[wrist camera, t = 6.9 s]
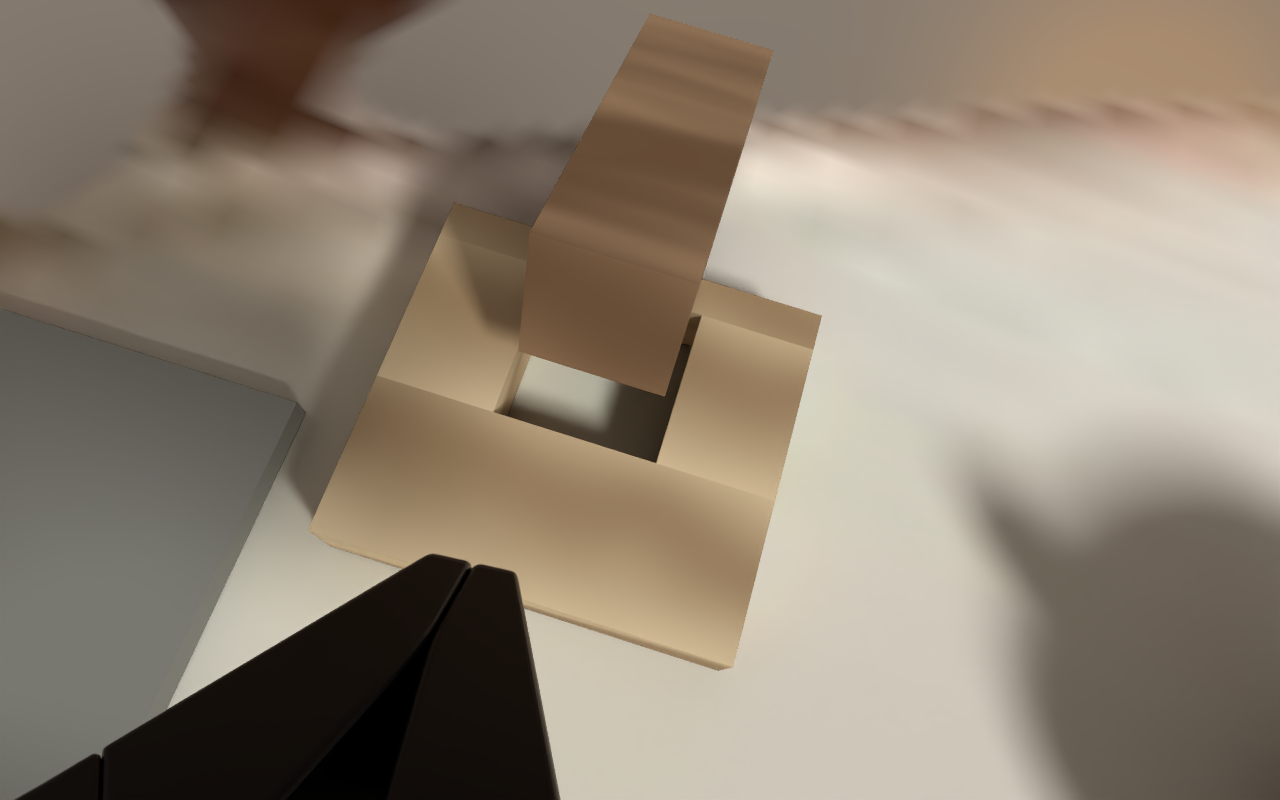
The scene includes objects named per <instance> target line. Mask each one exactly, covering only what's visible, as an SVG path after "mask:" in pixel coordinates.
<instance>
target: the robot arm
mask: <svg viewBox="0 0 1280 800" xmlns="http://www.w3.org/2000/svg"><path fill="white" fill-rule="evenodd" d="M14 800H560V795H559V790H558V784H557V779H556V774H555V769H554V763H553V758H552V753H551V748H550V743H549V737H548V732H547V727H546V722H545V716H544V711H543V706H542V701H541V695H540V690H539V685H538V680H537V675H536V669H535V664H534V659H533V654H532V648H531V643H530V638H529V633H528V628H527V622H526V617H525V612H524V607H523V601H522V596H521V591H520V586H519V580H518V577H517V575H516V573H515V572H513V571H511V570H506V569H502V568H497V567H493V566H488V565H484V564H478V565H475V566H474V567H473V568H472V567H471V564H470V563H469V562H468V561H466V560H462V559H457V558H453V557H448V556H444V555H439V554H428V555H426V556H424V557H422V558H420V559H419V560H417V561H415V562H414V563H412V564H410V565H409V566H407V567H405V568H404V569H402V570H400V571H399V572H397V573H395V574H394V575H392V576H390V577H389V578H387V579H385V580H383V581H382V582H380V583H378V584H377V585H375V586H373V587H372V588H370V589H368V590H367V591H365V592H363V593H362V594H360V595H358V596H357V597H355V598H353V599H352V600H350V601H348V602H347V603H345V604H343V605H342V606H340V607H338V608H337V609H335V610H333V611H332V612H330V613H328V614H326V615H325V616H323V617H321V618H320V619H318V620H316V621H315V622H313V623H311V624H310V625H308V626H306V627H305V628H303V629H301V630H300V631H298V632H296V633H295V634H293V635H291V636H290V637H288V638H286V639H285V640H283V641H281V642H280V643H278V644H276V645H275V646H273V647H271V648H270V649H268V650H266V651H264V652H263V653H261V654H259V655H258V656H256V657H254V658H253V659H251V660H249V661H248V662H246V663H244V664H243V665H241V666H239V667H238V668H236V669H234V670H233V671H231V672H229V673H228V674H226V675H224V676H223V677H221V678H219V679H218V680H216V681H214V682H213V683H211V684H209V685H207V686H206V687H204V688H202V689H201V690H199V691H197V692H196V693H194V694H192V695H191V696H189V697H187V698H186V699H184V700H182V701H181V702H179V703H177V704H176V705H174V706H172V707H171V708H169V709H167V710H166V711H164V712H162V713H161V714H159V715H157V716H156V717H154V718H152V719H150V720H149V721H147V722H145V723H144V724H142V725H140V726H139V727H137V728H135V729H134V730H132V731H130V732H129V733H127V734H125V735H124V736H122V737H120V738H119V739H117V740H115V741H114V742H112V743H110V744H109V745H107V746H105V747H104V749H103V751H102V759H101V756H100V755H99V754H91V755H89V756H88V757H86V758H84V759H83V760H81V761H79V762H78V763H76V764H74V765H73V766H71V767H69V768H68V769H66V770H64V771H63V772H61V773H59V774H58V775H56V776H54V777H53V778H51V779H49V780H47V781H46V782H44V783H42V784H41V785H39V786H37V787H35V788H34V789H32V790H30V791H28V792H27V793H25V794H23V795H21V796H20V797H18V798H16V799H14Z"/></svg>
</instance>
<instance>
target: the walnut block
mask: <svg viewBox="0 0 1280 800" xmlns="http://www.w3.org/2000/svg"><path fill="white" fill-rule="evenodd" d="M772 53H773V50H770V49H767V48H764V47H760V46H757V45H754V44H750V43H747V42H744V41H740V40H737V39H733V38H730V37H727V36H723V35H720V34H716V33H713V32H710V31H707V30H703V29H700V28H697V27H693V26H690V25H687V24H683V23H680V22H677V21H673V20H670V19H666V18H663V17H659V16H656V15H653V14H650V15H649V17H648V18H647V20H646V22H645V24H644V26H643V28H642V30H641V31H640V33H639V35H638V37H637V38H636V40H635V42H634V44H633V46H632V48H631V49H630V51H629V53H628V55H627V57H626V58H625V60H624V62H623V64H622V66H621V67H620V69H619V71H618V73H617V75H616V77H615V78H614V80H613V82H612V84H611V86H610V87H609V89H608V91H607V93H606V95H605V97H604V98H603V100H602V102H601V104H600V106H599V107H598V109H597V111H596V113H595V115H594V116H593V118H592V120H591V122H590V124H589V126H588V127H587V129H586V131H585V133H584V135H583V136H582V138H581V140H580V142H579V144H578V145H577V147H576V149H575V151H574V153H573V155H572V156H571V158H570V160H569V162H568V164H567V165H566V167H565V169H564V171H563V173H562V175H561V176H560V178H559V180H558V182H557V184H556V185H555V187H554V189H553V191H552V193H551V194H550V196H549V198H548V200H547V202H546V204H545V205H544V207H543V209H542V211H541V213H540V214H539V216H538V218H537V220H536V222H535V224H534V225H533V227H532V229H531V231H530V233H529V244H528V254H527V264H526V275H525V285H524V296H523V306H522V317H521V327H520V338H519V348H518V351H520V352H523V353H526V354H529V355H533V356H536V357H539V358H542V359H545V360H549V361H552V362H555V363H558V364H561V365H565V366H568V367H571V368H574V369H577V370H581V371H584V372H587V373H590V374H593V375H597V376H600V377H603V378H606V379H609V380H613V381H616V382H619V383H622V384H625V385H629V386H632V387H635V388H638V389H642V390H645V391H648V392H651V393H654V394H658V395H661V396H664V397H665V394H666V391H667V388H668V385H669V382H670V378H671V375H672V372H673V369H674V366H675V363H676V359H677V356H678V353H679V350H680V347H681V344H682V340H683V337H684V334H685V331H686V328H687V325H688V321H689V318H690V315H691V312H692V309H693V306H694V302H695V299H696V296H697V293H698V290H699V286H700V283H701V280H702V277H703V274H704V271H705V267H706V264H707V261H708V258H709V255H710V252H711V248H712V245H713V242H714V239H715V236H716V233H717V229H718V226H719V223H720V220H721V217H722V214H723V210H724V207H725V204H726V201H727V198H728V194H729V191H730V188H731V185H732V182H733V179H734V175H735V172H736V169H737V166H738V163H739V160H740V156H741V153H742V150H743V147H744V143H745V140H746V137H747V134H748V131H749V127H750V124H751V121H752V118H753V114H754V111H755V108H756V105H757V102H758V98H759V95H760V92H761V89H762V85H763V82H764V79H765V76H766V73H767V69H768V66H769V63H770V60H771V56H772Z"/></svg>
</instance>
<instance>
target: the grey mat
mask: <svg viewBox="0 0 1280 800" xmlns="http://www.w3.org/2000/svg"><path fill="white" fill-rule="evenodd" d="M305 414H306V412H305V411H304V410H303V409H302V408H301V407H300V405H299V404H298V403H297V402H294V401H291V400H287V399H284V398H281V397H278V396H275V395H272V394H269V393H265V392H262V391H259V390H256V389H253V388H250V387H246V386H243V385H240V384H237V383H234V382H231V381H227V380H224V379H221V378H218V377H215V376H212V375H209V374H205V373H202V372H199V371H196V370H193V369H190V368H186V367H183V366H180V365H177V364H174V363H171V362H167V361H164V360H161V359H158V358H155V357H152V356H149V355H145V354H142V353H139V352H136V351H133V350H130V349H126V348H123V347H120V346H117V345H114V344H111V343H107V342H104V341H101V340H98V339H95V338H92V337H89V336H85V335H82V334H79V333H76V332H73V331H70V330H66V329H63V328H60V327H57V326H54V325H51V324H47V323H44V322H41V321H38V320H35V319H32V318H29V317H25V316H22V315H19V314H16V313H13V312H10V311H6V310H3V309H0V800H14V799H16V798H18V797H20V796H21V795H23V794H25V793H27V792H28V791H30V790H32V789H34V788H35V787H37V786H39V785H41V784H42V783H44V782H46V781H47V780H49V779H51V778H53V777H54V776H56V775H58V774H59V773H61V772H63V771H64V770H66V769H68V768H69V767H71V766H73V765H74V764H76V763H78V762H79V761H81V760H83V759H84V758H86V757H88V756H89V755H91V754H99V755H100V756H101V759H102V751H103V749H104V747H105V746H107V745H109V744H110V743H112V742H114V741H115V740H117V739H119V738H120V737H122V736H124V735H125V734H127V733H129V732H130V731H132V730H134V729H135V728H137V727H139V726H140V725H142V724H144V723H145V722H147V721H149V720H150V719H152V718H154V717H156V716H157V715H159V714H161V713H162V712H164V711H166V709H167V707H168V705H169V703H170V701H171V699H172V696H173V694H174V692H175V690H176V688H177V686H178V684H179V682H180V679H181V677H182V675H183V673H184V671H185V669H186V667H187V665H188V662H189V660H190V658H191V656H192V654H193V652H194V650H195V648H196V645H197V643H198V641H199V639H200V637H201V635H202V633H203V631H204V628H205V626H206V624H207V622H208V620H209V618H210V616H211V614H212V611H213V609H214V607H215V605H216V603H217V601H218V599H219V597H220V594H221V592H222V590H223V588H224V586H225V584H226V582H227V580H228V577H229V575H230V573H231V571H232V569H233V567H234V565H235V563H236V560H237V558H238V556H239V554H240V552H241V550H242V548H243V545H244V543H245V541H246V539H247V537H248V535H249V533H250V531H251V528H252V526H253V524H254V522H255V520H256V518H257V516H258V514H259V511H260V509H261V507H262V505H263V503H264V501H265V499H266V497H267V494H268V492H269V490H270V488H271V486H272V484H273V482H274V480H275V477H276V475H277V473H278V471H279V469H280V467H281V465H282V463H283V460H284V458H285V456H286V454H287V452H288V450H289V448H290V446H291V443H292V441H293V439H294V437H295V435H296V433H297V431H298V429H299V426H300V424H301V422H302V420H303V418H304V416H305Z"/></svg>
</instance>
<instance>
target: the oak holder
mask: <svg viewBox="0 0 1280 800" xmlns="http://www.w3.org/2000/svg"><path fill="white" fill-rule="evenodd" d="M531 229H532V227H531V226H528V225H525V224H522V223H518V222H515V221H512V220H509V219H505V218H502V217H499V216H496V215H492V214H489V213H486V212H483V211H479V210H476V209H473V208H470V207H466V206H463V205H460V204H457V203H454V204H453V206H452V208H451V211H450V213H449V215H448V217H447V219H446V222H445V224H444V226H443V228H442V231H441V233H440V235H439V237H438V240H437V242H436V244H435V246H434V249H433V251H432V253H431V255H430V258H429V260H428V262H427V264H426V267H425V269H424V271H423V273H422V276H421V278H420V280H419V282H418V284H417V287H416V289H415V291H414V293H413V296H412V298H411V300H410V302H409V305H408V307H407V309H406V311H405V314H404V316H403V318H402V320H401V323H400V325H399V327H398V329H397V332H396V334H395V336H394V338H393V340H392V343H391V345H390V347H389V349H388V352H387V354H386V356H385V358H384V361H383V363H382V365H381V367H380V370H379V372H378V374H377V376H376V379H375V381H374V383H373V385H372V388H371V390H370V392H369V394H368V396H367V399H366V401H365V403H364V405H363V408H362V410H361V412H360V414H359V417H358V419H357V421H356V423H355V426H354V428H353V430H352V432H351V435H350V437H349V439H348V441H347V444H346V446H345V448H344V450H343V453H342V455H341V457H340V459H339V461H338V464H337V466H336V468H335V470H334V473H333V475H332V477H331V479H330V482H329V484H328V486H327V488H326V491H325V493H324V495H323V497H322V500H321V502H320V504H319V506H318V509H317V511H316V513H315V515H314V517H313V520H312V522H311V524H310V526H309V529H308V531H309V532H311V533H312V534H314V535H315V536H317V537H318V538H320V539H321V540H323V541H324V542H326V543H327V544H329V545H330V546H332V547H335V548H339V549H342V550H345V551H348V552H351V553H354V554H357V555H360V556H363V557H367V558H370V559H373V560H376V561H379V562H382V563H385V564H388V565H391V566H395V567H398V568H401V569H404V568H405V567H407V566H409V565H410V564H412V563H414V562H415V561H417V560H419V559H420V558H422V557H424V556H426V555H428V554H439V555H444V556H448V557H453V558H457V559H462V560H466V561H468V562H469V563H470V564H471V567H472V568H473V567H474V566H475V565H478V564H484V565H488V566H493V567H497V568H502V569H506V570H511V571H513V572H515V573H516V575H517V577H518V580H519V586H520V591H521V596H522V601H523V607H524V608H525V609H528V610H531V611H535V612H538V613H541V614H544V615H547V616H550V617H553V618H556V619H559V620H562V621H566V622H569V623H572V624H575V625H578V626H581V627H584V628H587V629H590V630H594V631H597V632H600V633H603V634H606V635H609V636H612V637H615V638H618V639H622V640H625V641H628V642H631V643H634V644H637V645H640V646H643V647H646V648H650V649H653V650H656V651H659V652H662V653H665V654H668V655H671V656H674V657H678V658H681V659H684V660H687V661H690V662H693V663H696V664H699V665H702V666H706V667H709V668H712V669H715V670H718V671H719V670H723V669H727V668H731V667H733V664H734V660H735V656H736V653H737V649H738V645H739V641H740V637H741V633H742V629H743V625H744V621H745V617H746V613H747V609H748V605H749V601H750V597H751V593H752V589H753V585H754V581H755V577H756V574H757V570H758V566H759V562H760V558H761V554H762V550H763V546H764V542H765V538H766V534H767V530H768V526H769V522H770V518H771V514H772V510H773V506H774V502H775V499H776V495H777V491H778V487H779V483H780V479H781V475H782V471H783V467H784V463H785V459H786V455H787V451H788V447H789V443H790V439H791V435H792V431H793V427H794V423H795V420H796V416H797V412H798V408H799V404H800V400H801V396H802V392H803V388H804V384H805V380H806V376H807V372H808V368H809V364H810V360H811V356H812V352H813V348H814V345H815V341H816V337H817V333H818V329H819V325H820V321H821V317H822V316H821V315H817V314H814V313H811V312H808V311H804V310H801V309H798V308H795V307H791V306H788V305H785V304H782V303H778V302H775V301H772V300H769V299H765V298H762V297H759V296H756V295H752V294H749V293H746V292H743V291H739V290H736V289H733V288H730V287H726V286H723V285H720V284H717V283H713V282H710V281H707V280H704V279H702V280H701V283H700V286H699V290H698V293H697V296H696V299H695V302H694V306H693V309H692V312H691V315H690V318H689V321H688V325H687V328H686V331H685V334H684V337H683V340H682V343H683V344H686V345H689V346H692V347H691V350H690V353H689V356H688V360H687V363H686V366H685V369H684V373H683V376H682V379H681V382H680V386H679V389H678V392H677V395H676V399H675V402H674V405H673V408H672V411H671V415H670V418H669V421H668V424H667V428H666V431H665V434H664V437H663V441H662V444H661V447H660V450H659V454H658V457H657V460H656V463H654V462H651V461H647V460H644V459H641V458H638V457H635V456H631V455H628V454H625V453H622V452H619V451H616V450H612V449H609V448H606V447H603V446H600V445H597V444H593V443H590V442H587V441H584V440H581V439H577V438H574V437H571V436H568V435H565V434H562V433H558V432H555V431H552V430H549V429H546V428H543V427H539V426H536V425H533V424H530V423H527V422H523V421H520V420H517V419H514V418H511V417H508V413H509V411H510V408H511V405H512V403H513V400H514V397H515V395H516V392H517V390H518V387H519V384H520V382H521V379H522V376H523V374H524V371H525V369H526V366H527V363H528V361H529V358H530V355H529V354H526V353H523V352H520V351H518V348H519V338H520V327H521V317H522V306H523V296H524V285H525V275H526V264H527V254H528V244H529V233H530V231H531Z"/></svg>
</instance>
